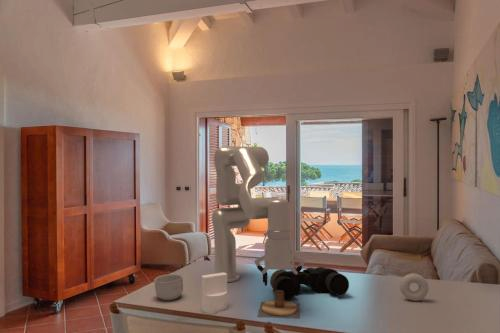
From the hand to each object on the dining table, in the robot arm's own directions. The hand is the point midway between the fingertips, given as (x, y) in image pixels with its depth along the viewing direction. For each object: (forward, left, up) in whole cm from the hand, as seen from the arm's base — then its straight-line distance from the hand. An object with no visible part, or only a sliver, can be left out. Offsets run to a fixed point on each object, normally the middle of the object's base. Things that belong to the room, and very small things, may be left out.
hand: (280, 284), depth 135 cm
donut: (-16, +49, -10) cm, 52 cm away
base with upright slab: (-1, -23, -10) cm, 25 cm away
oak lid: (0, 0, -9) cm, 9 cm away
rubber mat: (0, 0, -10) cm, 10 cm away
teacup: (-12, -43, -10) cm, 46 cm away
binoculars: (-22, +8, -10) cm, 26 cm away
